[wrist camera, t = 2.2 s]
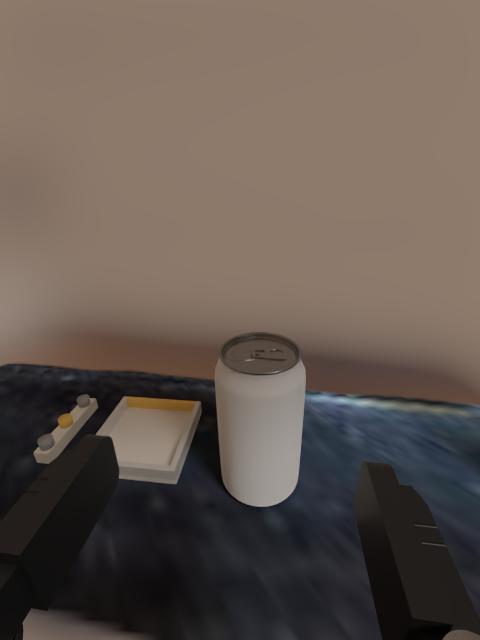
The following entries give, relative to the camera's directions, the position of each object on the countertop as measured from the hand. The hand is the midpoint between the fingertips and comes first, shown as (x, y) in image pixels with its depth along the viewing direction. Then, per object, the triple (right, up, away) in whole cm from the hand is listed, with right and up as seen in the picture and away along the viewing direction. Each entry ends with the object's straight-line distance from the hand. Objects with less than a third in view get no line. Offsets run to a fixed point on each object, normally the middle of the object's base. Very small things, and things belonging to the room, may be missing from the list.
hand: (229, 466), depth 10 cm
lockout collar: (-9, -7, +20) cm, 23 cm away
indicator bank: (-17, -7, +21) cm, 28 cm away
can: (+2, -8, +16) cm, 18 cm away
